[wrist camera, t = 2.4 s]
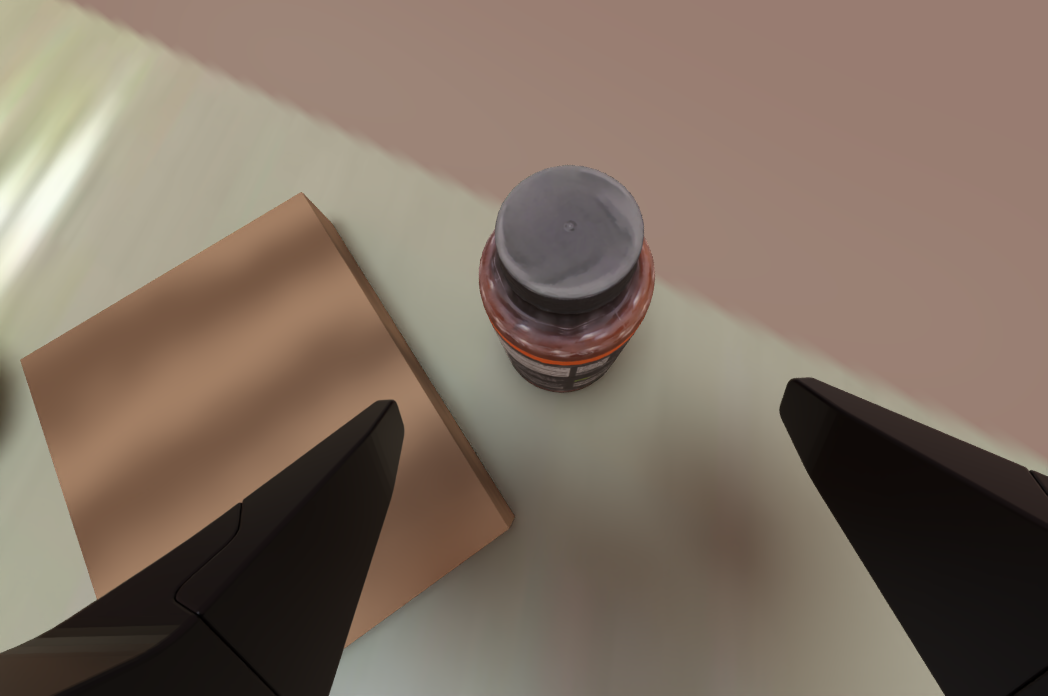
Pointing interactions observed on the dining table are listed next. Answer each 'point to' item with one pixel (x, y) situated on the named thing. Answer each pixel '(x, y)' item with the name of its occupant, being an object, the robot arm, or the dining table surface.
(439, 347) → the dining table surface
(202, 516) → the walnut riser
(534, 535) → the dining table surface
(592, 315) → the supplement bottle
